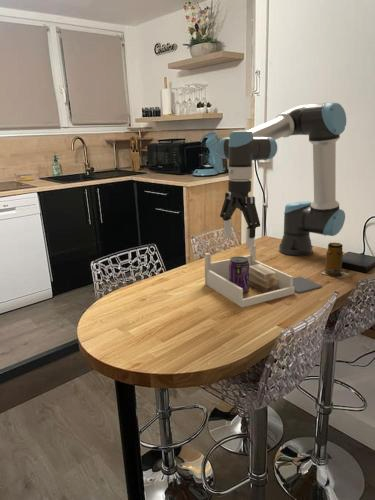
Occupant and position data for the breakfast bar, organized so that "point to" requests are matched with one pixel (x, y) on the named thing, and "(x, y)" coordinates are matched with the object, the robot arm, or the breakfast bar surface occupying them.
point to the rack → (219, 282)
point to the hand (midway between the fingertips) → (238, 242)
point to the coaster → (304, 285)
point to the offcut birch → (262, 272)
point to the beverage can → (239, 272)
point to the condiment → (334, 261)
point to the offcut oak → (263, 283)
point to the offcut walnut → (262, 287)
